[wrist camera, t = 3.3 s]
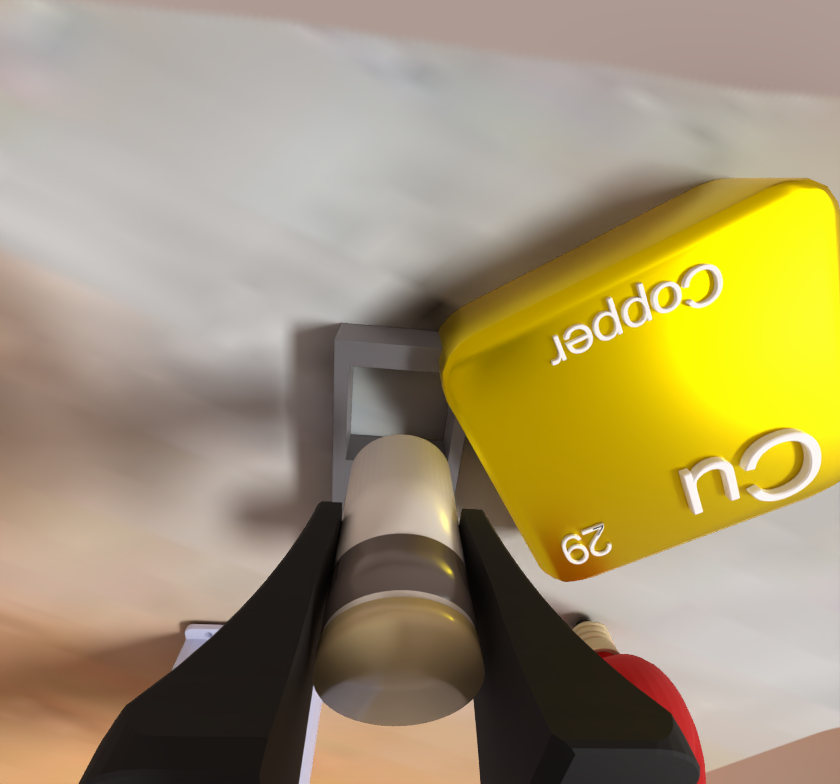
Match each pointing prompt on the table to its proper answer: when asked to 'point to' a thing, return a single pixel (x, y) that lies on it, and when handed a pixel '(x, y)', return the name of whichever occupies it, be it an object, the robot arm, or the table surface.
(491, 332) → the element tile
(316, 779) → the table surface
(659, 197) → the table surface
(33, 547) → the table surface
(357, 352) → the fuse block
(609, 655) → the light bulb
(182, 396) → the table surface
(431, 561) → the fuse
